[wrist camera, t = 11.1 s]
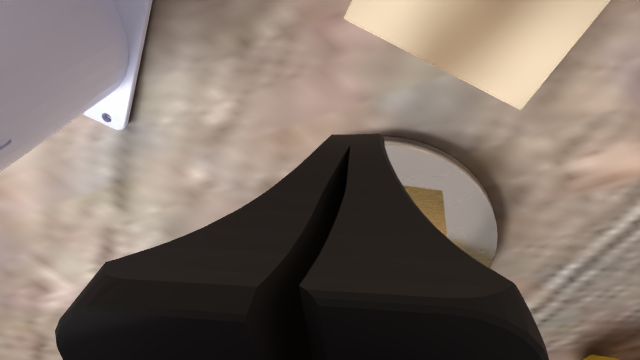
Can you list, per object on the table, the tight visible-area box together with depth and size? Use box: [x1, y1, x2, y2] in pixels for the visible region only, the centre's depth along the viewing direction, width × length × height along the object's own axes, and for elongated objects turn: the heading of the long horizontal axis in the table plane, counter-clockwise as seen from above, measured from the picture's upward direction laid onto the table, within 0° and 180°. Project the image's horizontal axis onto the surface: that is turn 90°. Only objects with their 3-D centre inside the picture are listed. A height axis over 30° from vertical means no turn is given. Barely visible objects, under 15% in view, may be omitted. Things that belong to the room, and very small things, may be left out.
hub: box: [382, 136, 498, 268], centre depth 23 cm, size 12×12×4 cm
